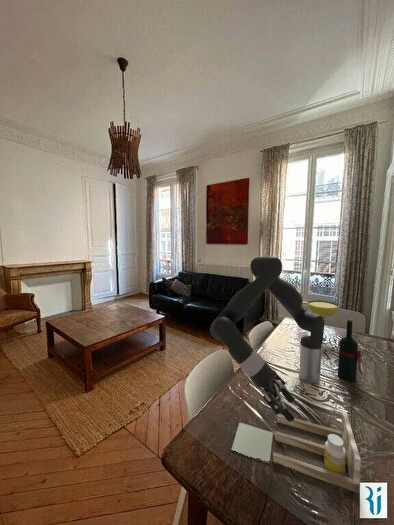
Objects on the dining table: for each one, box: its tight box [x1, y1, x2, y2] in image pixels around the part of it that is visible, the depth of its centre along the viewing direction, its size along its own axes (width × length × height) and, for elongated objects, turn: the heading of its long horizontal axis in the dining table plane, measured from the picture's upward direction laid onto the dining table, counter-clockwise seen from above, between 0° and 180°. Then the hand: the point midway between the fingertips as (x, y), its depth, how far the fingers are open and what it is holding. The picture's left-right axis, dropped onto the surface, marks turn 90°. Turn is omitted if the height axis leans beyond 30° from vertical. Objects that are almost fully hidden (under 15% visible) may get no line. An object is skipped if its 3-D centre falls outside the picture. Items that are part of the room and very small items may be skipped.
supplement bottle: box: [323, 434, 347, 476], centre depth 67 cm, size 5×5×10 cm
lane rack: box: [273, 410, 362, 494], centre depth 73 cm, size 18×22×10 cm
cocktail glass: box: [307, 300, 339, 341], centre depth 151 cm, size 18×18×25 cm
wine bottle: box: [337, 317, 363, 383], centre depth 109 cm, size 8×10×30 cm
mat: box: [230, 421, 274, 462], centre depth 77 cm, size 12×12×1 cm
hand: (292, 410), depth 70 cm, fingers open, 8 cm apart
